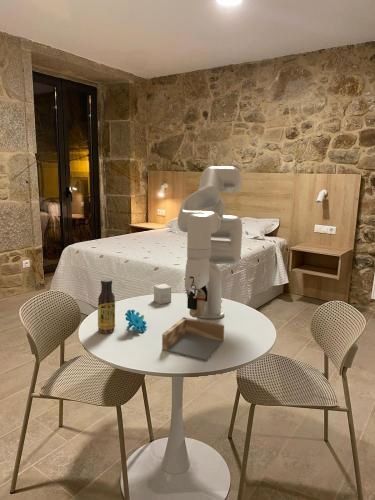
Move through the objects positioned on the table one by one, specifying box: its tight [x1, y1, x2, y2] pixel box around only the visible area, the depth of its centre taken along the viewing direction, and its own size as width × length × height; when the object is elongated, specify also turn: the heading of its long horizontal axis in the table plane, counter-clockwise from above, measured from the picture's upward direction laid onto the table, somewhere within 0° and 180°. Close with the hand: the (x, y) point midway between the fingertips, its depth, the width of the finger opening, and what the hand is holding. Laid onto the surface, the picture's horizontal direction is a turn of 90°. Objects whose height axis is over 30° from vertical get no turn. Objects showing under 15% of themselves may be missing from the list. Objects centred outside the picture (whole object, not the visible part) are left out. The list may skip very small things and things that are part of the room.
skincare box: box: [153, 283, 172, 305], centre depth 169 cm, size 6×6×7 cm
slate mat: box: [165, 333, 224, 362], centre depth 128 cm, size 16×16×1 cm
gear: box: [124, 309, 148, 333], centre depth 140 cm, size 11×6×10 cm
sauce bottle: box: [97, 278, 116, 334], centre depth 136 cm, size 6×6×20 cm
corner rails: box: [161, 316, 225, 352], centre depth 127 cm, size 16×16×6 cm
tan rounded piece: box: [189, 287, 206, 318], centre depth 121 cm, size 6×8×10 cm
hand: (197, 304), depth 122 cm, fingers closed on tan rounded piece, 7 cm apart
